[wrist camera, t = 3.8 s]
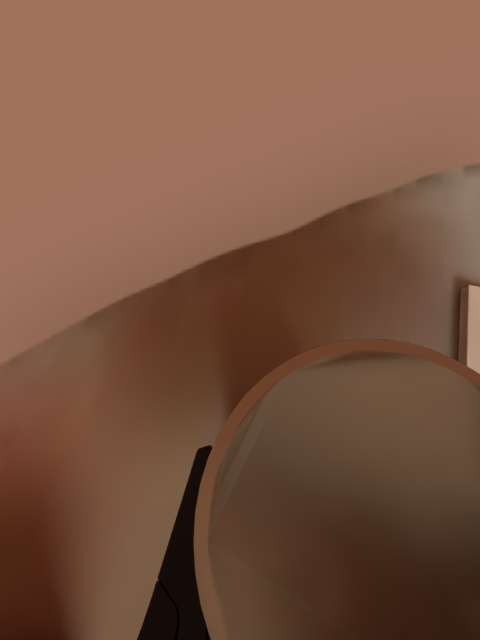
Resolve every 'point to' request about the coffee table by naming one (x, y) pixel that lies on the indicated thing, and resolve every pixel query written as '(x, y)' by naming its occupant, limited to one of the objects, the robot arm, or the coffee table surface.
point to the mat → (470, 327)
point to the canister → (345, 500)
